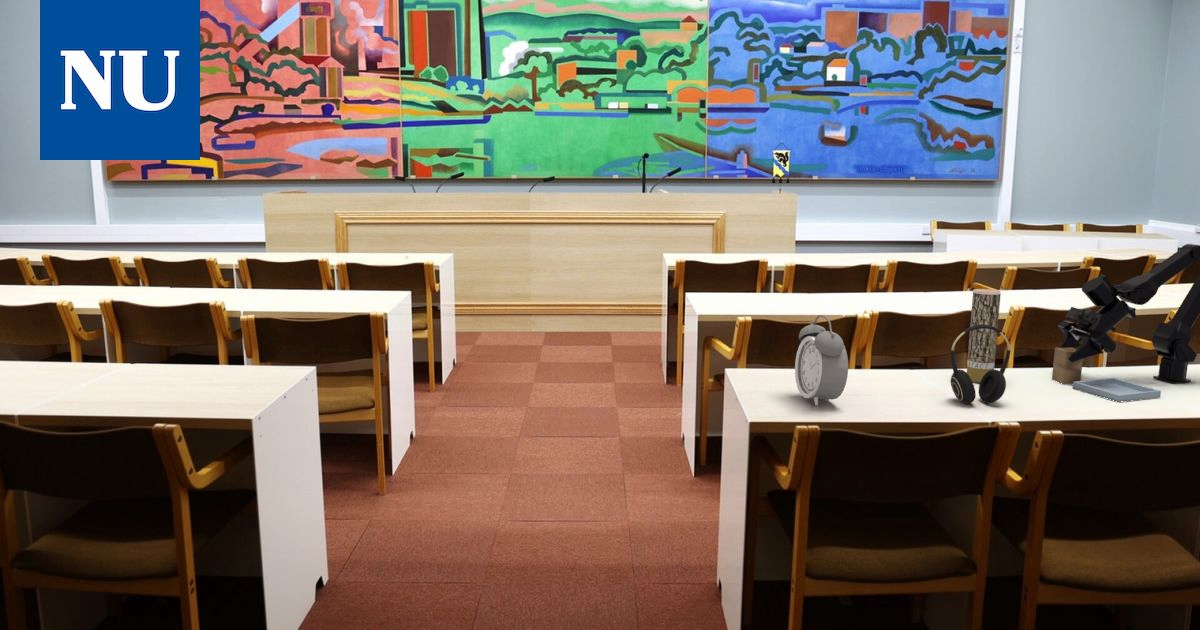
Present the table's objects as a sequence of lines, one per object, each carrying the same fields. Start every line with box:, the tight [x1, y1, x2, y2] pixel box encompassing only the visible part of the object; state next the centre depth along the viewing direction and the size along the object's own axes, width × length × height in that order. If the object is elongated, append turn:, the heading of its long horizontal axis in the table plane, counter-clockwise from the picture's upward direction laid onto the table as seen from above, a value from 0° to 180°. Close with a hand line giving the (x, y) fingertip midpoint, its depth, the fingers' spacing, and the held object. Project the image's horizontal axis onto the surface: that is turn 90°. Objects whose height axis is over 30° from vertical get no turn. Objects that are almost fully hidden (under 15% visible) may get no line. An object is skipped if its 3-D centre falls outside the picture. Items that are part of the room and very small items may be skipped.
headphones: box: [950, 324, 1012, 404], centre depth 216 cm, size 9×15×20 cm, turn 91°
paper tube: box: [966, 288, 1002, 384], centre depth 237 cm, size 7×7×25 cm
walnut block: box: [1051, 347, 1084, 385], centre depth 238 cm, size 5×5×9 cm
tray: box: [1072, 377, 1162, 403], centre depth 227 cm, size 14×14×2 cm
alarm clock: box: [794, 314, 849, 406], centre depth 217 cm, size 16×9×22 cm, turn 9°
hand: (1063, 358), depth 237 cm, fingers open, 6 cm apart
